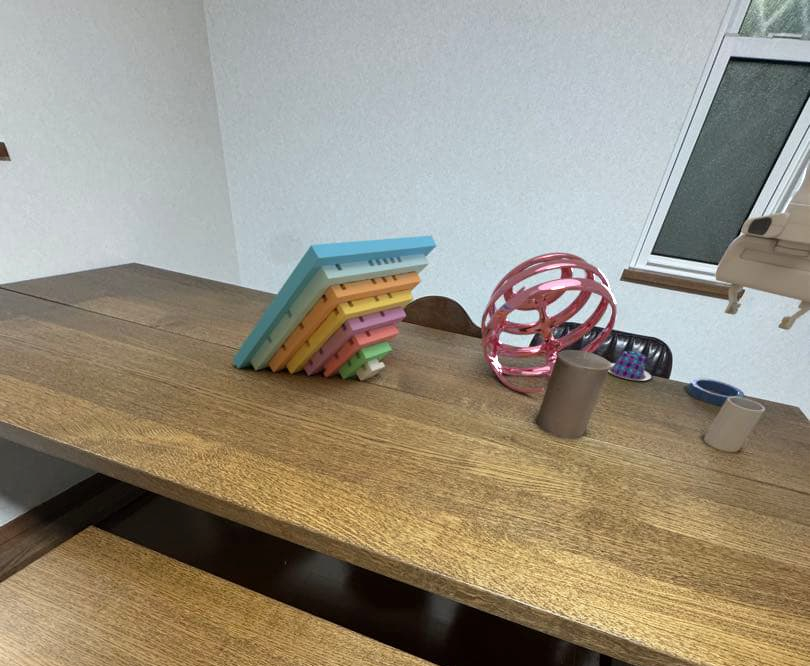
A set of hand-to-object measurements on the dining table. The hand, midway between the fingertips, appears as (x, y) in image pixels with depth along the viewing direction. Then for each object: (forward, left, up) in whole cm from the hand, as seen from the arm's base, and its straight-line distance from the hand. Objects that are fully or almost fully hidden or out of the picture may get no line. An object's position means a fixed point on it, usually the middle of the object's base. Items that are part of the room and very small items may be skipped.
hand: (756, 320), depth 82 cm
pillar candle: (+30, +8, -22) cm, 38 cm away
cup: (-3, +6, -22) cm, 23 cm away
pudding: (+6, -31, -22) cm, 39 cm away
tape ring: (-13, -22, -22) cm, 34 cm away
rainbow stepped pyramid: (+80, -9, -22) cm, 84 cm away
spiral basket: (+34, -15, -22) cm, 43 cm away
